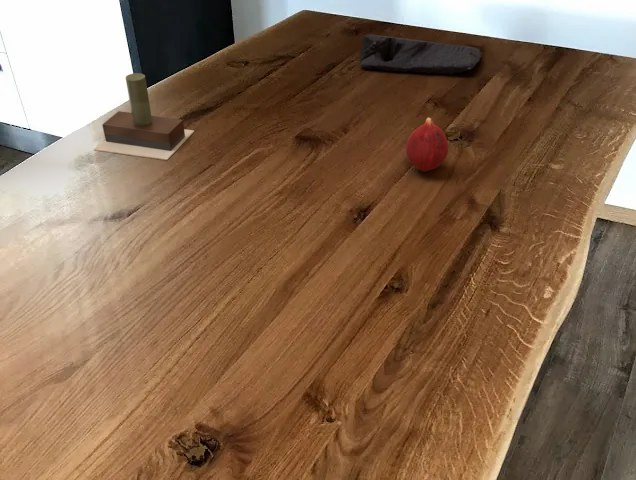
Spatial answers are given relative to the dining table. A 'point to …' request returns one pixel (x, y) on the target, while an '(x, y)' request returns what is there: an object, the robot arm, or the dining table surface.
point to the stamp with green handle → (142, 121)
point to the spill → (141, 149)
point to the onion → (427, 146)
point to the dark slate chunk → (416, 55)
